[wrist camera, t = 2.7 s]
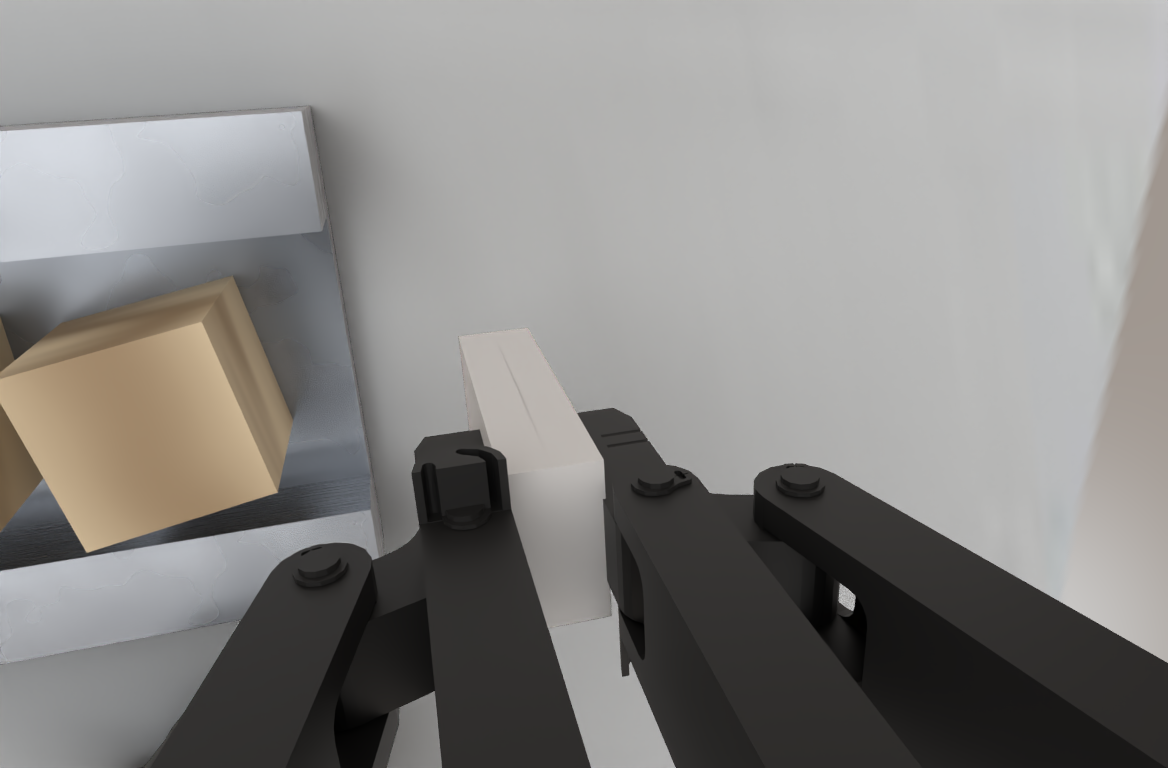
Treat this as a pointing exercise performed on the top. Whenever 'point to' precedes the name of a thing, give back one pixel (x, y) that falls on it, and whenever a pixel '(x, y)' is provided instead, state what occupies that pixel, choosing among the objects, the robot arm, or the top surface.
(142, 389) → the chip
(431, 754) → the top surface
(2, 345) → the chip
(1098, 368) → the top surface
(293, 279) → the slot rail
